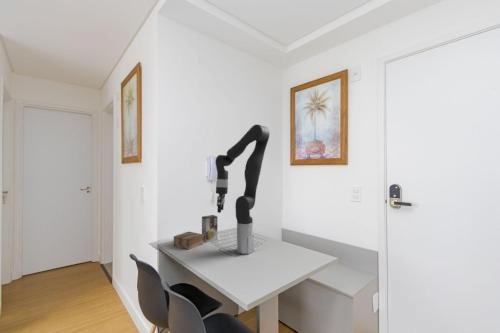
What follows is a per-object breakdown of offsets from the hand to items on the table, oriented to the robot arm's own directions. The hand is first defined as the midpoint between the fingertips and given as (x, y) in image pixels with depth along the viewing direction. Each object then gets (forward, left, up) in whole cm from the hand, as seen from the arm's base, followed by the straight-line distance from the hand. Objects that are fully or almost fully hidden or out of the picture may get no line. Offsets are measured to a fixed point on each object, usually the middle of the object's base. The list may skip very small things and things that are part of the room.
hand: (220, 211), depth 154 cm
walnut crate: (+17, +11, -22) cm, 29 cm away
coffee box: (+12, -4, -22) cm, 25 cm away
